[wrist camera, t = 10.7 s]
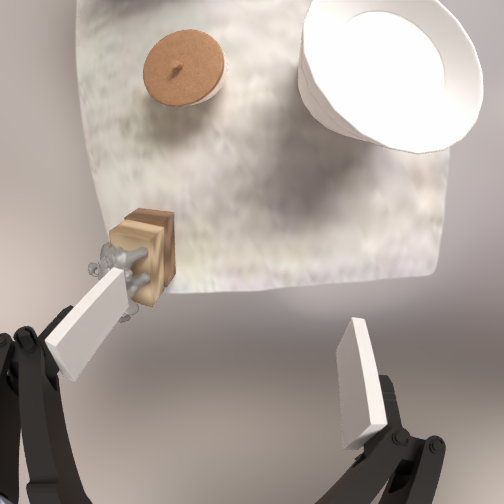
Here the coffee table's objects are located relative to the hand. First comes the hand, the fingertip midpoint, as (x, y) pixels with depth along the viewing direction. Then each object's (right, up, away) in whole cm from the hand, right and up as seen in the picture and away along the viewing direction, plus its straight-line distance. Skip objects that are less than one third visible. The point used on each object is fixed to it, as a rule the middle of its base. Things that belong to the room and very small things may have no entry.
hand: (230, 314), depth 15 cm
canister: (+15, +27, +17) cm, 35 cm away
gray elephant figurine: (-17, 0, +24) cm, 29 cm away
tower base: (-16, +5, +33) cm, 37 cm away
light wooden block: (-17, +3, +28) cm, 33 cm away
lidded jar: (-6, +29, +19) cm, 36 cm away
